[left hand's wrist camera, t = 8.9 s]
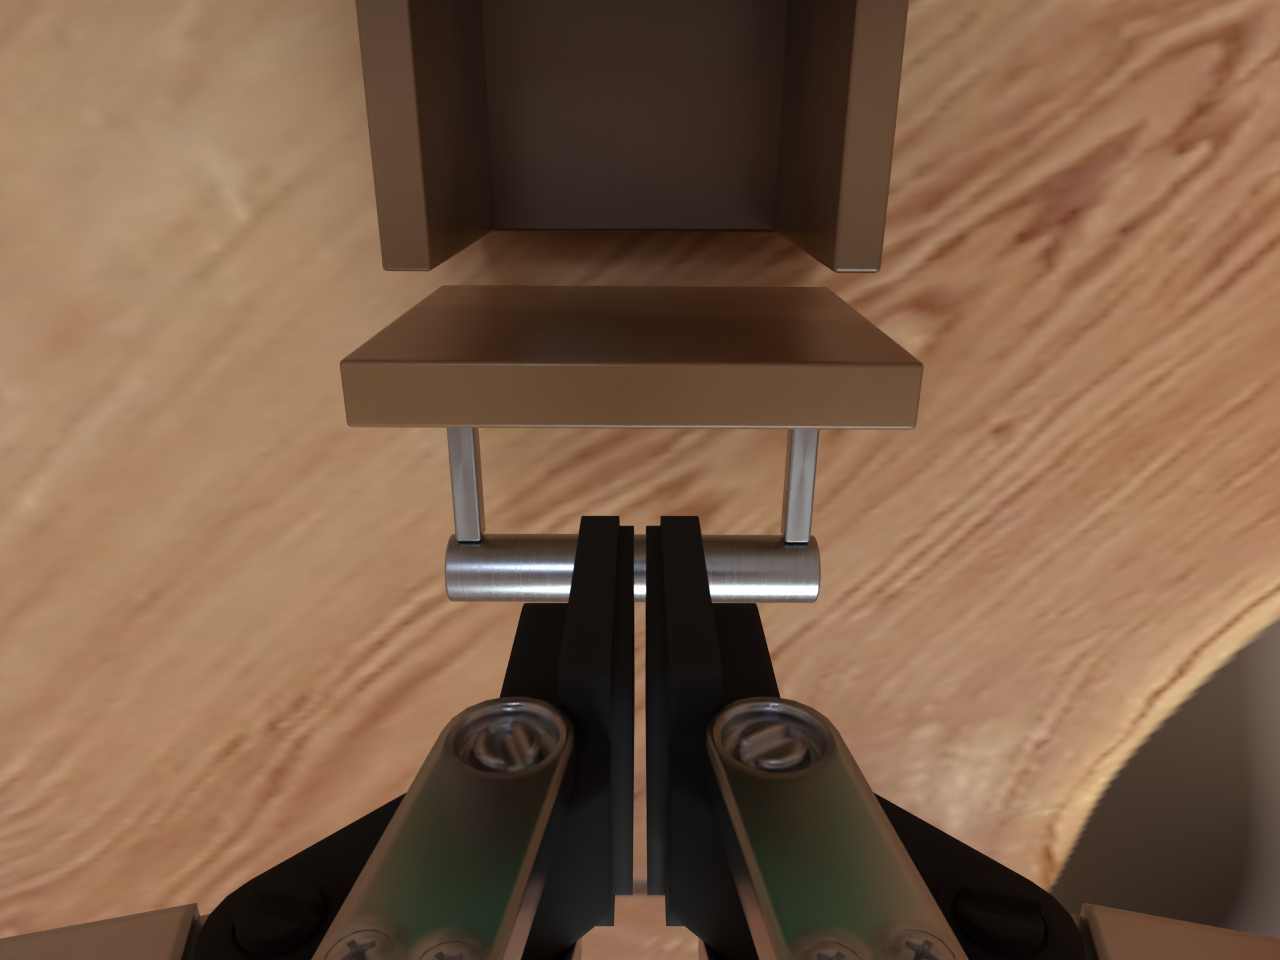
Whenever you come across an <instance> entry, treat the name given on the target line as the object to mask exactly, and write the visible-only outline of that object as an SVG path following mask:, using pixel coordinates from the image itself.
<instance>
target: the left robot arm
mask: <svg viewBox="0 0 1280 960" xmlns="http://www.w3.org/2000/svg"><path fill="white" fill-rule="evenodd" d="M633 801H634V526H620V522H619V516H582V517H581V523H580V529H579V536H578V542H577V549H576V555H575V561H574V568H573V574H572V581H571V587H570V594H569V600H568V603H525V604H524V605H523V608H522V611H521V615H520V619H519V623H518V627H517V631H516V635H515V639H514V643H513V647H512V651H511V655H510V659H509V663H508V667H507V671H506V675H505V679H504V683H503V687H502V691H501V695H500V698H497V699H492V700H487V701H484V702H481V703H479V704H476V705H474V706H471V707H469V708H467V709H465V710H464V711H462V712H461V713H459V714H458V715H456V716H455V717H453V718H452V719H451V721H450V722H449V723H448V724H447V725H446V727H445V728H444V729H443V730H442V732H441V733H440V735H439V737H438V739H437V740H436V742H435V744H434V746H433V747H432V749H431V751H430V753H429V754H428V756H427V758H426V760H425V761H424V763H423V765H422V767H421V768H420V770H419V772H418V774H417V775H416V777H415V779H414V781H413V782H412V784H411V786H410V788H409V789H408V791H407V793H405V794H403V795H401V796H399V797H398V798H396V799H394V800H392V801H390V802H389V803H387V804H385V805H383V806H382V807H380V808H378V809H376V810H374V811H373V812H371V813H369V814H367V815H366V816H364V817H362V818H360V819H358V820H357V821H355V822H353V823H351V824H350V825H348V826H346V827H344V828H342V829H341V830H339V831H337V832H335V833H334V834H332V835H330V836H328V837H326V838H325V839H323V840H321V841H319V842H317V843H316V844H314V845H312V846H310V847H309V848H307V849H305V850H303V851H301V852H300V853H298V854H296V855H294V856H293V857H291V858H289V859H287V860H285V861H284V862H282V863H280V864H278V865H277V866H275V867H273V868H271V869H269V870H268V871H266V872H264V873H262V874H260V875H259V876H257V877H255V878H253V879H252V880H250V881H248V882H247V883H245V884H244V885H243V886H241V887H240V888H238V889H237V890H235V891H234V892H232V893H231V894H230V895H228V896H227V897H226V898H225V899H224V900H223V901H222V902H221V903H220V904H219V905H218V906H217V907H216V908H215V910H214V911H213V912H212V913H211V914H208V915H202V916H200V915H199V911H198V907H197V903H194V904H188V905H183V906H177V907H172V908H166V909H161V910H155V911H150V912H144V913H139V914H133V915H128V916H122V917H117V918H111V919H106V920H100V921H95V922H89V923H84V924H79V925H73V926H68V927H62V928H57V929H51V930H46V931H40V932H35V933H29V934H24V935H18V936H13V937H7V938H2V939H0V960H581V953H582V944H581V937H582V936H583V935H585V934H586V933H587V932H588V931H590V930H591V929H592V928H593V927H595V926H614V906H615V895H633ZM646 801H647V895H665V906H666V926H685V927H687V928H688V929H689V930H690V931H692V932H693V933H694V934H695V935H697V936H698V937H699V944H698V953H699V960H1280V939H1278V938H1272V937H1267V936H1262V935H1256V934H1251V933H1245V932H1240V931H1234V930H1229V929H1223V928H1218V927H1212V926H1207V925H1201V924H1196V923H1191V922H1185V921H1180V920H1174V919H1168V918H1163V917H1158V916H1152V915H1147V914H1141V913H1135V912H1130V911H1125V910H1119V909H1114V908H1108V907H1103V906H1097V905H1092V904H1086V903H1083V907H1082V911H1081V915H1080V916H1078V915H1072V914H1069V913H1068V912H1067V911H1066V910H1065V909H1064V907H1063V906H1062V905H1061V904H1060V903H1059V902H1058V901H1057V900H1056V899H1055V898H1054V897H1053V896H1052V895H1050V894H1049V893H1048V892H1046V891H1045V890H1043V889H1042V888H1040V887H1039V886H1037V885H1036V884H1035V883H1033V882H1032V881H1030V880H1028V879H1027V878H1025V877H1023V876H1021V875H1020V874H1018V873H1016V872H1014V871H1012V870H1011V869H1009V868H1007V867H1005V866H1003V865H1002V864H1000V863H998V862H996V861H995V860H993V859H991V858H989V857H987V856H986V855H984V854H982V853H980V852H979V851H977V850H975V849H973V848H971V847H970V846H968V845H966V844H964V843H963V842H961V841H959V840H957V839H955V838H954V837H952V836H950V835H948V834H946V833H945V832H943V831H941V830H939V829H938V828H936V827H934V826H932V825H930V824H929V823H927V822H925V821H923V820H922V819H920V818H918V817H916V816H914V815H913V814H911V813H909V812H907V811H906V810H904V809H902V808H900V807H898V806H897V805H895V804H893V803H891V802H890V801H888V800H886V799H884V798H882V797H881V796H879V795H877V794H875V793H873V791H872V789H871V788H870V786H869V784H868V782H867V781H866V779H865V777H864V775H863V774H862V772H861V770H860V768H859V767H858V765H857V763H856V761H855V760H854V758H853V756H852V754H851V753H850V751H849V749H848V747H847V746H846V744H845V742H844V740H843V739H842V737H841V735H840V733H839V732H838V730H837V729H836V728H835V727H834V725H833V724H832V723H831V722H830V721H829V719H828V718H827V717H825V716H824V715H822V714H821V713H819V712H818V711H816V710H815V709H813V708H811V707H809V706H806V705H804V704H801V703H799V702H796V701H793V700H788V699H783V698H780V695H779V691H778V687H777V683H776V679H775V675H774V671H773V667H772V663H771V659H770V655H769V651H768V647H767V643H766V639H765V635H764V631H763V627H762V623H761V619H760V615H759V611H758V608H757V605H756V604H755V603H712V600H711V594H710V587H709V581H708V574H707V568H706V561H705V555H704V549H703V542H702V536H701V529H700V523H699V517H698V516H661V522H660V526H646Z"/></svg>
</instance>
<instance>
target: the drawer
mask: <svg viewBox="0 0 1280 960" xmlns="http://www.w3.org/2000/svg"><path fill="white" fill-rule="evenodd" d="M908 3H909V0H356V10H357V19H358V29H359V39H360V49H361V58H362V68H363V78H364V88H365V97H366V107H367V117H368V127H369V136H370V146H371V156H372V166H373V175H374V185H375V195H376V205H377V214H378V224H379V234H380V244H381V253H382V263H383V268H384V270H386V271H430V270H432V269H433V268H435V267H436V266H438V265H440V264H441V263H443V262H444V261H446V260H448V259H449V258H451V257H452V256H454V255H456V254H457V253H459V252H460V251H462V250H463V249H465V248H467V247H468V246H470V245H471V244H473V243H475V242H476V241H478V240H479V239H481V238H483V237H484V236H486V235H487V234H489V233H491V232H492V231H573V232H777V233H778V234H780V235H781V236H783V237H784V238H786V239H787V240H789V241H790V242H792V243H793V244H794V245H796V246H797V247H799V248H800V249H802V250H803V251H805V252H806V253H808V254H809V255H811V256H812V257H813V258H815V259H816V260H818V261H819V262H821V263H822V264H824V265H825V266H827V267H828V268H829V269H831V270H832V271H834V272H836V273H876V272H879V270H880V268H881V260H882V251H883V241H884V232H885V222H886V213H887V203H888V194H889V184H890V174H891V165H892V155H893V146H894V136H895V127H896V117H897V108H898V98H899V89H900V79H901V70H902V60H903V51H904V41H905V32H906V22H907V13H908ZM923 368H924V367H923V364H922V363H921V362H920V361H919V360H918V359H916V358H915V357H914V356H912V355H911V354H910V353H909V352H907V351H906V350H905V349H904V348H902V347H901V346H900V345H899V344H897V343H896V342H895V341H894V340H892V339H891V338H890V337H889V336H887V335H886V334H885V333H884V332H882V331H881V330H880V329H879V328H877V327H876V326H875V325H874V324H872V323H871V322H870V321H868V320H867V319H866V318H865V317H863V316H862V315H861V314H860V313H858V312H857V311H856V310H855V309H853V308H852V307H851V306H850V305H848V304H847V303H846V302H845V301H843V300H842V299H841V298H840V297H838V296H837V295H836V294H835V293H833V292H832V291H831V290H829V289H828V288H826V287H639V286H441V287H440V288H438V289H437V290H436V291H434V292H433V293H432V294H430V295H429V296H427V297H426V298H425V299H423V300H422V301H421V302H419V303H418V304H417V305H415V306H414V307H413V308H411V309H410V310H409V311H407V312H406V313H405V314H403V315H402V316H401V317H399V318H398V319H396V320H395V321H394V322H392V323H391V324H390V325H388V326H387V327H386V328H384V329H383V330H382V331H380V332H379V333H378V334H376V335H375V336H374V337H372V338H371V339H370V340H368V341H367V342H365V343H364V344H363V345H361V346H360V347H359V348H357V349H356V350H355V351H353V352H352V353H351V354H349V355H348V356H347V357H345V358H344V359H343V360H341V362H340V371H341V379H342V387H343V395H344V403H345V411H346V418H347V424H348V426H351V427H446V428H447V437H448V449H449V461H450V474H451V486H452V498H453V510H454V523H455V534H452V535H451V537H450V539H449V541H448V545H447V550H446V557H445V585H446V591H447V595H448V598H449V600H451V601H476V602H568V600H569V594H570V587H571V581H572V574H573V568H574V561H575V555H576V549H577V542H578V536H579V534H484V532H485V518H484V503H483V488H482V473H481V459H480V444H479V429H478V428H668V429H788V437H787V451H786V465H785V480H784V494H783V508H782V522H781V533H782V535H701V536H702V542H703V549H704V555H705V561H706V568H707V574H708V581H709V587H710V594H711V600H712V602H716V603H814V602H815V601H816V600H817V597H818V594H819V589H820V576H821V567H820V554H819V548H818V543H817V541H816V538H815V537H814V536H812V535H810V534H811V522H812V511H813V499H814V487H815V475H816V464H817V452H818V440H819V429H890V430H911V429H914V428H915V426H916V423H917V415H918V407H919V399H920V391H921V384H922V376H923ZM634 602H646V535H637V534H634Z"/></svg>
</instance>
